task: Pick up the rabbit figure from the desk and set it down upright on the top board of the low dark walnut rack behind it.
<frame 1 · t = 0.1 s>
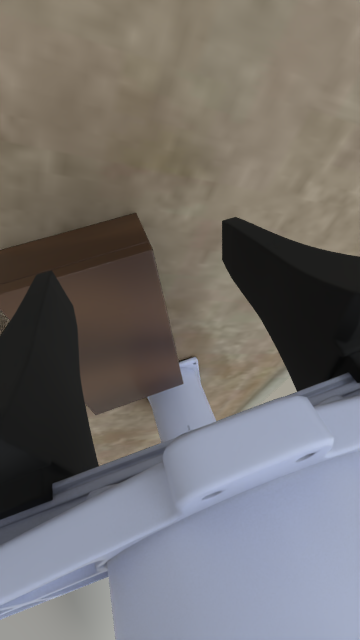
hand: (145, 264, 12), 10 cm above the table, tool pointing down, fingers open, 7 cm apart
rack: (108, 313, 27), on the table
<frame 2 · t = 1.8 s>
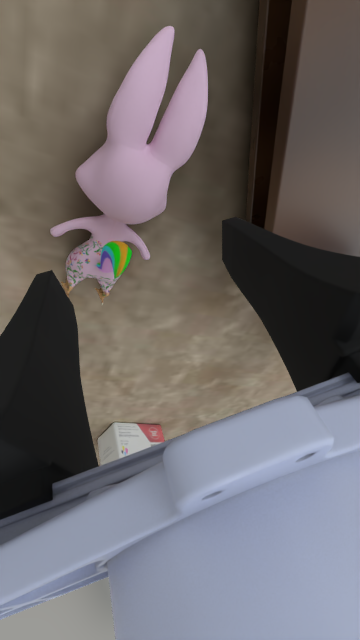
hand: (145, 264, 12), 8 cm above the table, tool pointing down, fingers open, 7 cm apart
ink cartridge box: (129, 429, 42), on the table
rabbit figure: (114, 190, 17), on the table
rack: (315, 103, 17), on the table
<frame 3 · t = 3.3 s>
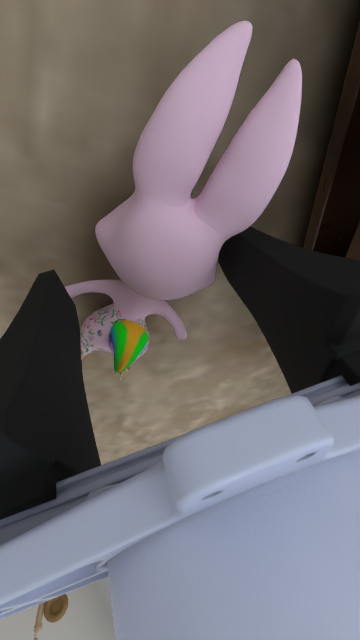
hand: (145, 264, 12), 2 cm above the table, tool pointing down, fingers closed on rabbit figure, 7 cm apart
rabbit figure: (154, 248, 13), on the table, touching gripper
snail figurine: (51, 554, 61), on the table
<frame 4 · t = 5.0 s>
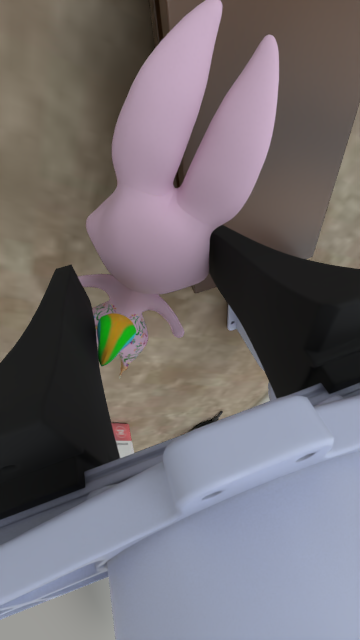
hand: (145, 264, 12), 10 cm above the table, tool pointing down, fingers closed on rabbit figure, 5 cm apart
ink cartridge box: (97, 428, 43), on the table
rabbit figure: (151, 244, 13), point 8 cm above the table, touching gripper
rack: (231, 122, 18), on the table
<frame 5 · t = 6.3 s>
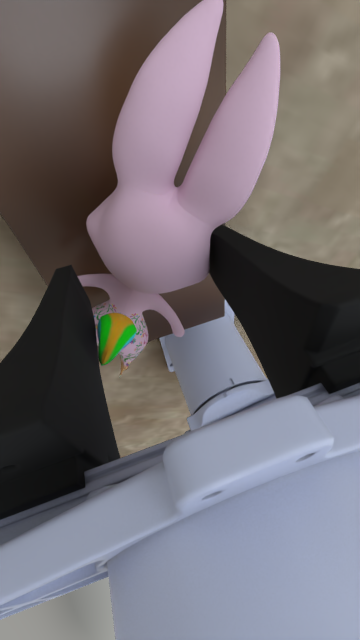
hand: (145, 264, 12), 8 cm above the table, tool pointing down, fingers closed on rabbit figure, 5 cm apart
rabbit figure: (151, 244, 13), point 6 cm above the table, touching gripper
rack: (115, 187, 17), on the table
when the fingers open (7 cm above the table, at t = 7.2 s): rabbit figure stays where it is, resting on rack.
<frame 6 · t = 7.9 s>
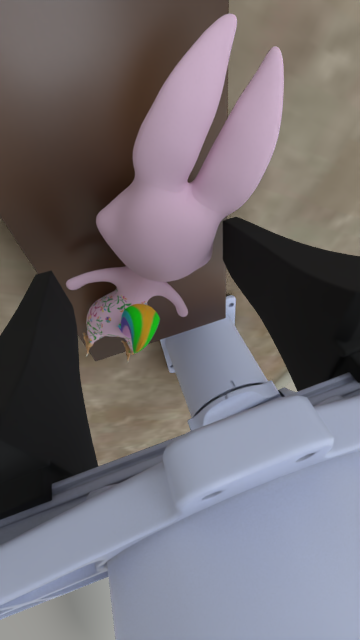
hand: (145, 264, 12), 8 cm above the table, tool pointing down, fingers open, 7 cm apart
rabbit figure: (149, 233, 14), point 5 cm above the table, touching rack
rack: (115, 188, 17), on the table
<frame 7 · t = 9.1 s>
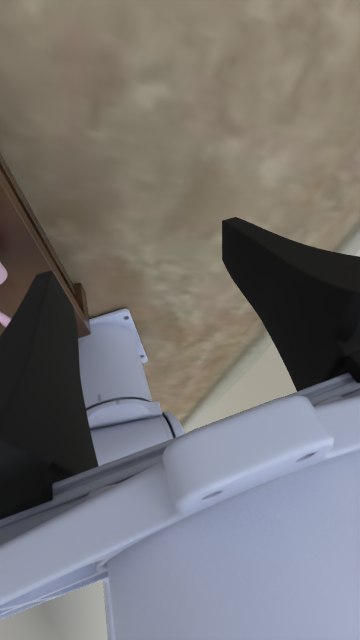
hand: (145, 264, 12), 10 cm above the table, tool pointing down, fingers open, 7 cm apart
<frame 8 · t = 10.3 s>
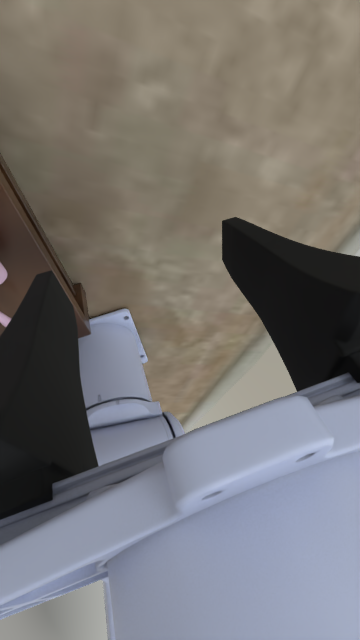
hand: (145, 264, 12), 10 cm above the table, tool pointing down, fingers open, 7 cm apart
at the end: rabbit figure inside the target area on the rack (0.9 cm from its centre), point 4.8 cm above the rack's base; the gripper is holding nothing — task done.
